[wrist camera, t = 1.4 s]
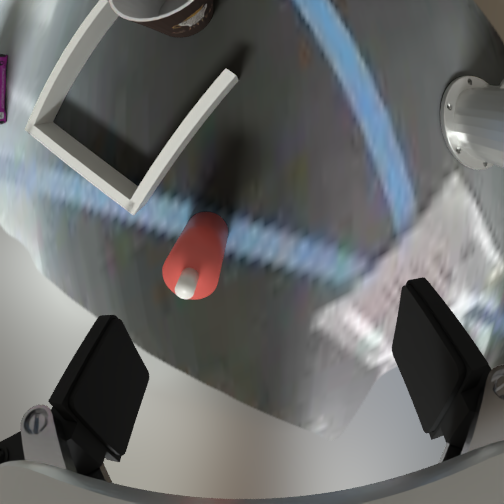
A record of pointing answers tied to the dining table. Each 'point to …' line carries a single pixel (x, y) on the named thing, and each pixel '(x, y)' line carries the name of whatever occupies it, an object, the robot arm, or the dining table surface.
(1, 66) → the candy bar box
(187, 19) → the coffee mug
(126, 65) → the dining table surface
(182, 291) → the squeeze bottle
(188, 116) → the open u-shaped frame
